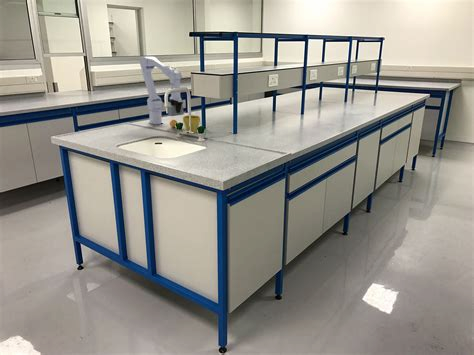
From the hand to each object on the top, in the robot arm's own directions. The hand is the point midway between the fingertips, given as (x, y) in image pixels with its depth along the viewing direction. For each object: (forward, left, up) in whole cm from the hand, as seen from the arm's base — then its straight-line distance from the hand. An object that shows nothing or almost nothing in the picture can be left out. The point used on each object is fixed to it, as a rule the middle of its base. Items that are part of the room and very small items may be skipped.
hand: (176, 111), depth 245 cm
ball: (0, -2, -7) cm, 8 cm away
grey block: (0, 0, -2) cm, 2 cm away
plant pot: (+20, +2, -10) cm, 22 cm away
